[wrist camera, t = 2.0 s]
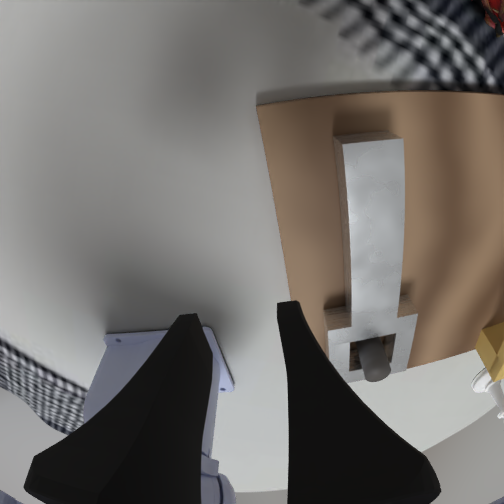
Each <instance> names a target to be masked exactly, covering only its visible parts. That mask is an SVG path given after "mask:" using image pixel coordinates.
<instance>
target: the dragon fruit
mask: <svg viewBox="0 0 504 504" xmlns="http://www.w3.org/2000/svg"><path fill="white" fill-rule="evenodd" d="M471 1H472V0H471ZM481 2H482V4H483V7H484V9H485V12H486V14H485V21H486V23H487V24H488V25H489V26H491V27H492V28H494V29H495V32H496V37H500V36H501V35H503V34H504V0H481Z"/></svg>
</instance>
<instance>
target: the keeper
mask: <svg viewBox="0 0 504 504" xmlns="http://www.w3.org/2000/svg"><path fill="white" fill-rule="evenodd" d="M475 348H476V350H477V352H478V354H479V356H480V358H481V359H482V361H483V363H484V365H485V367H486V369H487V371H488V373H489V375H490V377H491V379H492V381H493V382H496V381H498V380H501V379H503V378H504V322H502V323H499V324H496V325H494V326H491V327H487V328H484V329H482V330H481V333H480V335H479V338H478V341H477V343H476V346H475Z"/></svg>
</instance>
